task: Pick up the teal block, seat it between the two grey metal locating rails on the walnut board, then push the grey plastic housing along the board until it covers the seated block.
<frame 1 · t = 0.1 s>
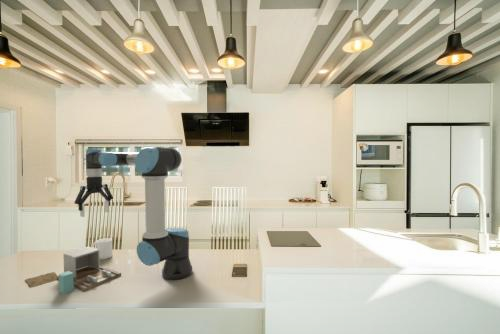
hand: (95, 214, 149), 28 cm above the worktop, fingers open, 13 cm apart
board: (89, 277, 133), on the worktop
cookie: (42, 280, 130), on the worktop
housing: (82, 261, 136), point 7 cm above the worktop, slide at 0.0 cm
cup: (101, 257, 160), on the worktop
teal block: (66, 291, 119), on the worktop
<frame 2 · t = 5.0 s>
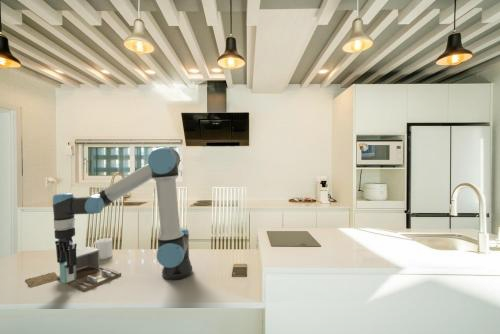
hand: (67, 279, 119), 5 cm above the worktop, fingers closed on teal block, 4 cm apart
teal block: (67, 280, 119), point 5 cm above the worktop, touching gripper
everything else where it was.
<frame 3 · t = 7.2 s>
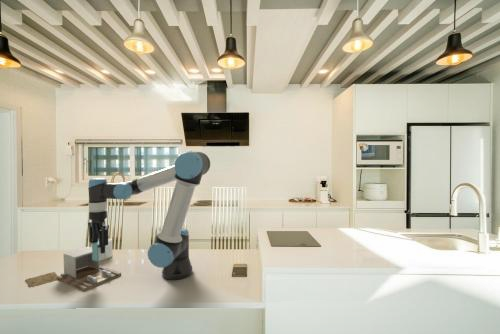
hand: (98, 258, 129), 11 cm above the worktop, fingers closed on teal block, 4 cm apart
teal block: (98, 259, 129), point 11 cm above the worktop, touching gripper
everything else where it was.
when the fingers open (2 cm above the worktop, at t = 9.3 s): teal block stays where it is, resting on board.
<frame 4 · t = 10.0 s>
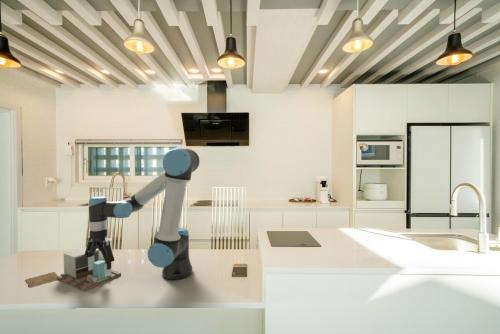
hand: (99, 272, 129), 4 cm above the worktop, fingers open, 13 cm apart
housing: (82, 261, 136), point 7 cm above the worktop, slide at 0.0 cm, touching gripper, hand
teal block: (99, 278, 129), point 1 cm above the worktop, touching board
everything else where it was.
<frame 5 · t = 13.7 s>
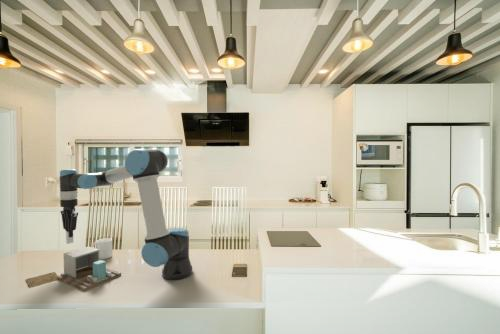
hand: (69, 242, 141), 14 cm above the worktop, fingers closed
housing: (82, 261, 136), point 7 cm above the worktop, slide at 0.0 cm
everything else where it was.
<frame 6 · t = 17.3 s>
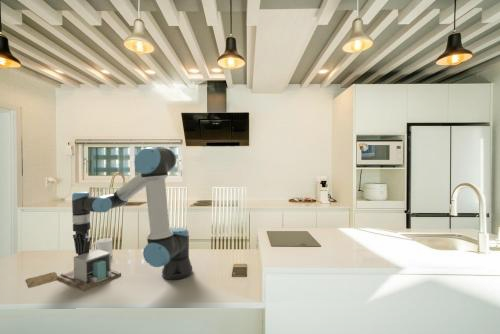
hand: (82, 268, 136), 3 cm above the worktop, fingers closed
housing: (92, 265, 131), point 7 cm above the worktop, slide at 9.3 cm, touching hand
everything else where it was.
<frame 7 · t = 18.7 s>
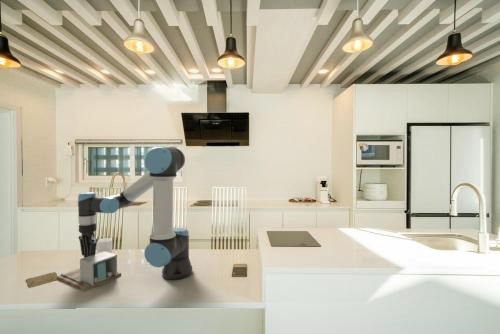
hand: (88, 270, 133), 3 cm above the worktop, fingers closed
housing: (99, 267, 129), point 7 cm above the worktop, slide at 14.7 cm, touching hand
everything else where it was.
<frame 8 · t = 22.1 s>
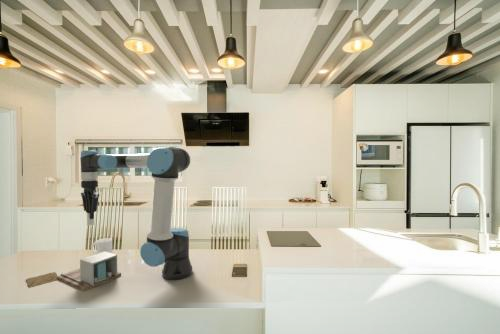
hand: (90, 224, 140), 24 cm above the worktop, fingers closed
housing: (99, 267, 129), point 7 cm above the worktop, slide at 14.9 cm
everything else where it was.
at the end: teal block 0.1 cm from the target spot on the board, point 1.3 cm above the board's base; teal block tilted 0°; housing slide at 14.9 cm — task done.
